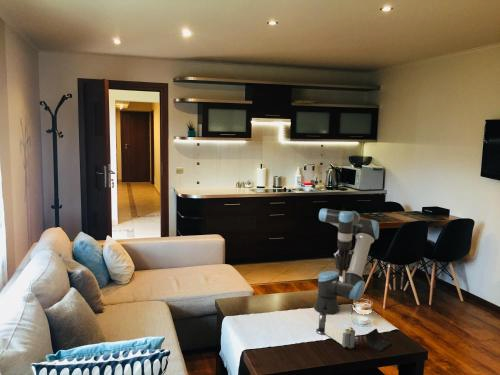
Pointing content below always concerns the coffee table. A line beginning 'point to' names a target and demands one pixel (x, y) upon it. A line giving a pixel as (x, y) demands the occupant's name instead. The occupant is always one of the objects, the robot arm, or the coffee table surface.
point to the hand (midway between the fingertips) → (341, 281)
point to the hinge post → (321, 324)
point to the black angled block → (376, 340)
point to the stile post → (351, 337)
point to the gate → (337, 334)
